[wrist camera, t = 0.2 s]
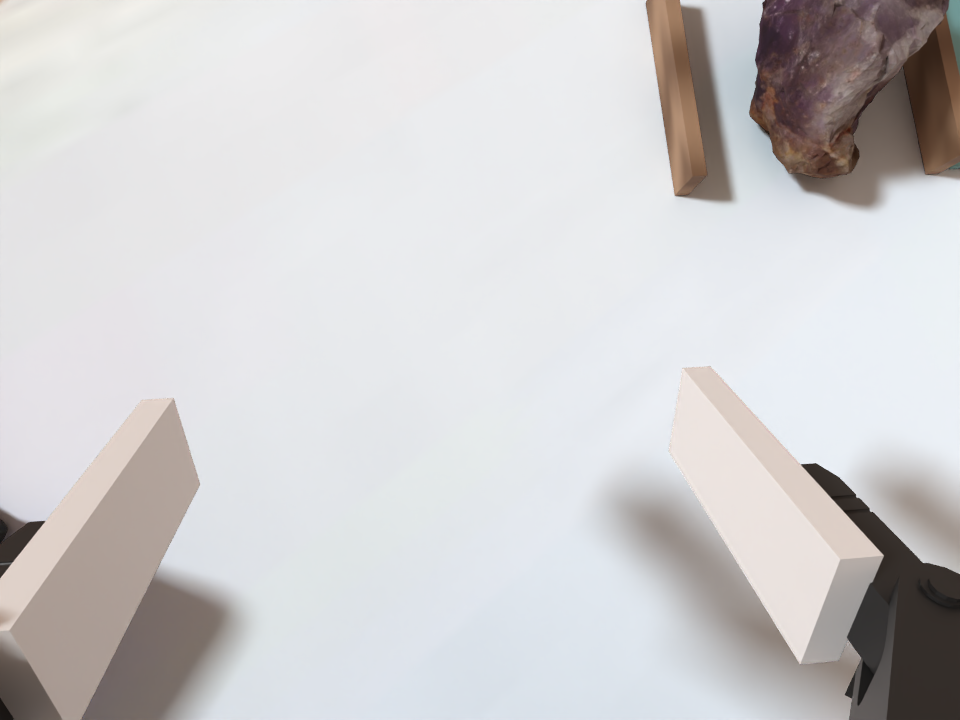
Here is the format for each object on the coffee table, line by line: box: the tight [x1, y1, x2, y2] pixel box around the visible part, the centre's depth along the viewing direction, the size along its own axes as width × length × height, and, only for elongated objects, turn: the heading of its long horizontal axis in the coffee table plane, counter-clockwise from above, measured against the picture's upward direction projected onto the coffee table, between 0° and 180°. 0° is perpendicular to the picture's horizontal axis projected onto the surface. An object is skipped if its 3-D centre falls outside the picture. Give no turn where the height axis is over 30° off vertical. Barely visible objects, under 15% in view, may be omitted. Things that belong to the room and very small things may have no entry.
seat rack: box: [646, 0, 960, 196], centre depth 34 cm, size 12×31×2 cm, turn 96°
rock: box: [749, 0, 949, 178], centre depth 30 cm, size 12×9×10 cm
